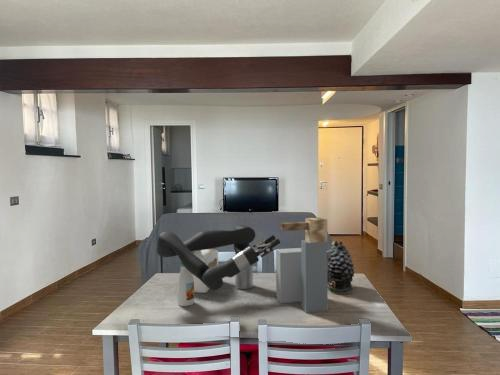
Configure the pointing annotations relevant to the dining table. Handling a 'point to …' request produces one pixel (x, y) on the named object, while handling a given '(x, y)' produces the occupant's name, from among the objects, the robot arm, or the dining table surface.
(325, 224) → the oak block with handle
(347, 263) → the dark fir cone
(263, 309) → the dining table surface
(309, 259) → the slate shelf stand
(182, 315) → the dining table surface
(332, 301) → the dining table surface
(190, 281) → the milk bottle
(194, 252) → the gable box
